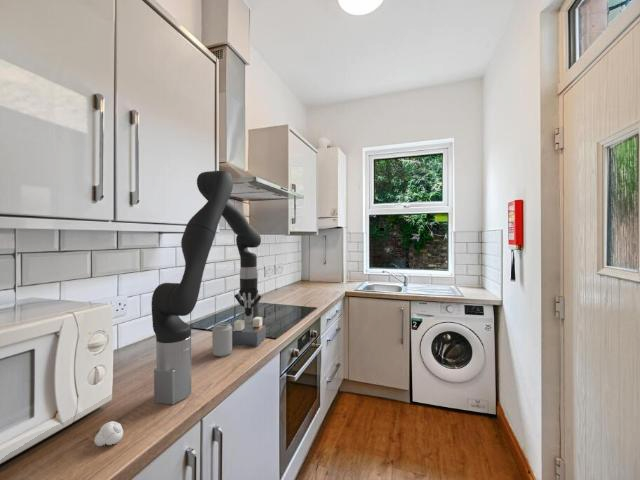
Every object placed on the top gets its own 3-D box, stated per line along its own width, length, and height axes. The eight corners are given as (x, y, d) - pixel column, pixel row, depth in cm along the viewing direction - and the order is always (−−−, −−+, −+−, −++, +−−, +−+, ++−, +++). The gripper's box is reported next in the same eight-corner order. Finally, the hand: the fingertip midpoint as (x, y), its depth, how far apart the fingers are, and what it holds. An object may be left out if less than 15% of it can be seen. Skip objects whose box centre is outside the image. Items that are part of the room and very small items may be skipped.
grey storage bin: (257, 346, 123) (257, 332, 122) (230, 344, 125) (230, 330, 124) (265, 338, 132) (265, 325, 132) (241, 336, 134) (241, 323, 134)
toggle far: (259, 327, 129) (259, 319, 129) (253, 326, 129) (253, 319, 129) (262, 324, 132) (262, 317, 132) (256, 324, 133) (256, 316, 133)
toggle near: (240, 330, 124) (240, 322, 124) (234, 330, 124) (234, 322, 124) (244, 328, 127) (244, 320, 127) (237, 327, 128) (237, 319, 128)
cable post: (258, 337, 134) (258, 294, 133) (249, 336, 135) (249, 293, 134) (262, 334, 138) (261, 292, 138) (253, 333, 139) (253, 291, 138)
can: (226, 358, 111) (226, 327, 111) (208, 356, 113) (208, 326, 112) (235, 350, 119) (235, 321, 118) (218, 349, 120) (218, 320, 120)
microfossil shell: (124, 422, 66) (118, 413, 70) (95, 434, 63) (91, 425, 67) (125, 441, 66) (120, 432, 70) (96, 455, 63) (92, 444, 66)
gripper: (230, 277, 125) (230, 317, 126) (259, 278, 123) (259, 319, 123) (238, 275, 133) (238, 312, 133) (265, 276, 130) (265, 314, 131)
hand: (248, 315), depth 128 cm, fingers closed
